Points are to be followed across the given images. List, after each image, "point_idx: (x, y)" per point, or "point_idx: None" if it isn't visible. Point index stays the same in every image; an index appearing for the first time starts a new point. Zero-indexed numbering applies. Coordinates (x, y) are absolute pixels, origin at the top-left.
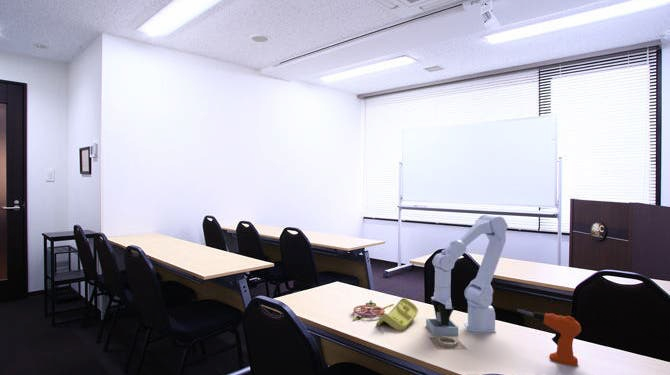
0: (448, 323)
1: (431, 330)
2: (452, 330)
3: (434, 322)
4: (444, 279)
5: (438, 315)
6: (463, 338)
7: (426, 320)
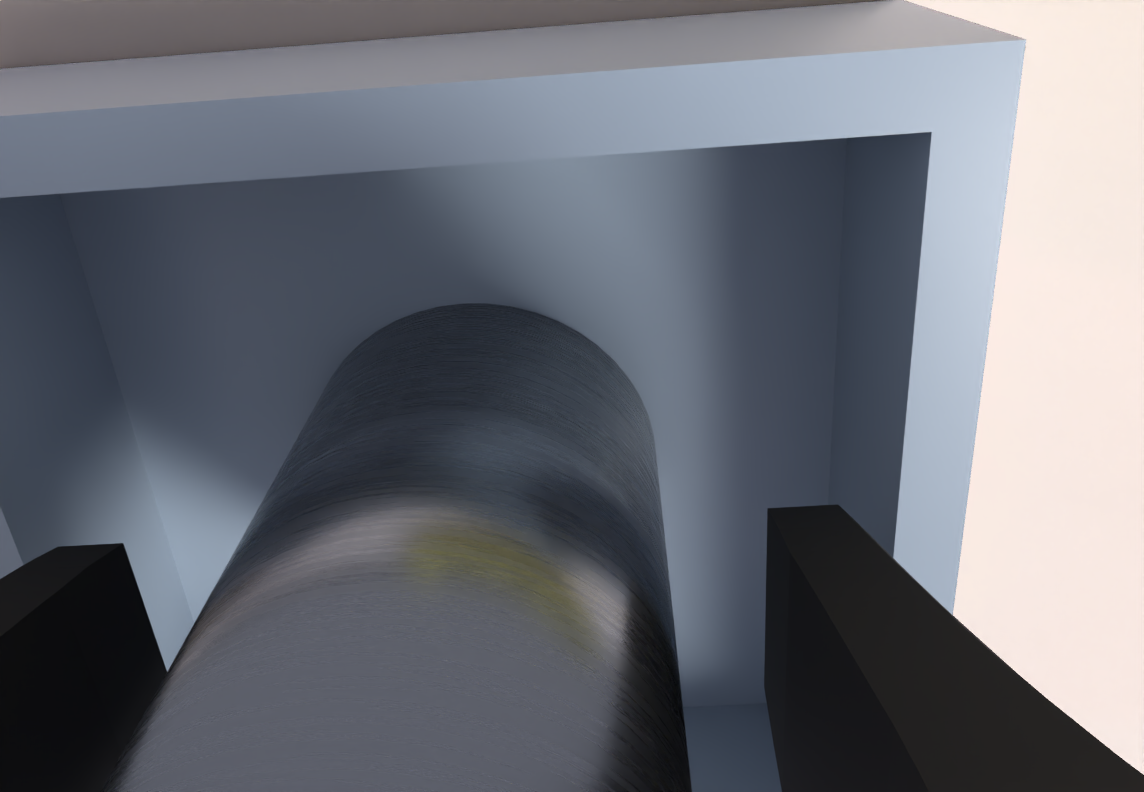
0: None
1: (176, 67)
2: None
3: (866, 362)
4: None
5: (183, 713)
6: None
7: (955, 31)
